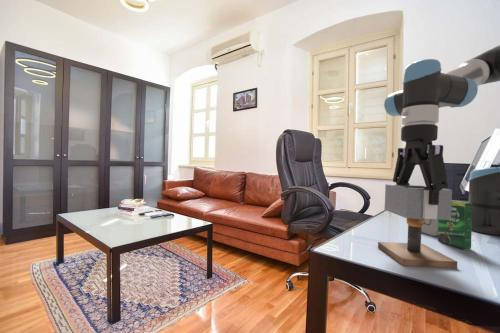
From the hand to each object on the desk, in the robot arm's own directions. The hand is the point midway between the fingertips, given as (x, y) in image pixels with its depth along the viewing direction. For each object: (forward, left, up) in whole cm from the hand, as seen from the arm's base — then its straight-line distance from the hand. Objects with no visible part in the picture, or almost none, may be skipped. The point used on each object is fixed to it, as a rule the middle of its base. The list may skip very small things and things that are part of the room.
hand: (415, 213), depth 61 cm
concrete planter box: (0, 0, 0) cm, 0 cm away
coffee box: (-18, -11, -11) cm, 24 cm away
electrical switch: (-19, -24, -11) cm, 33 cm away
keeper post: (0, 0, -11) cm, 11 cm away
